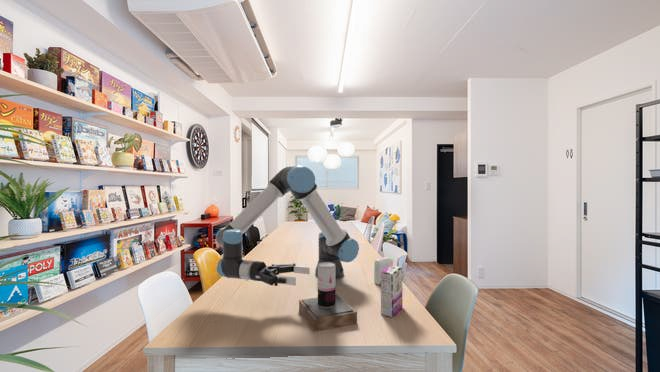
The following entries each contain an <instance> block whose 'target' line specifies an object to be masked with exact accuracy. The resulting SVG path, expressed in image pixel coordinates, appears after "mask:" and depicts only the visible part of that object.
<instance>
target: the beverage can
mask: <svg viewBox="0 0 660 372" xmlns="http://www.w3.org/2000/svg"><path fill="white" fill-rule="evenodd" d="M335 277H336V266H335V264H334V263H331V262H323V263H319V264H318V276H317V297H318V305H319V306H320V307H323V308H330V307H333V306H334V305H335V295H336V278H335Z"/></svg>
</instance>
